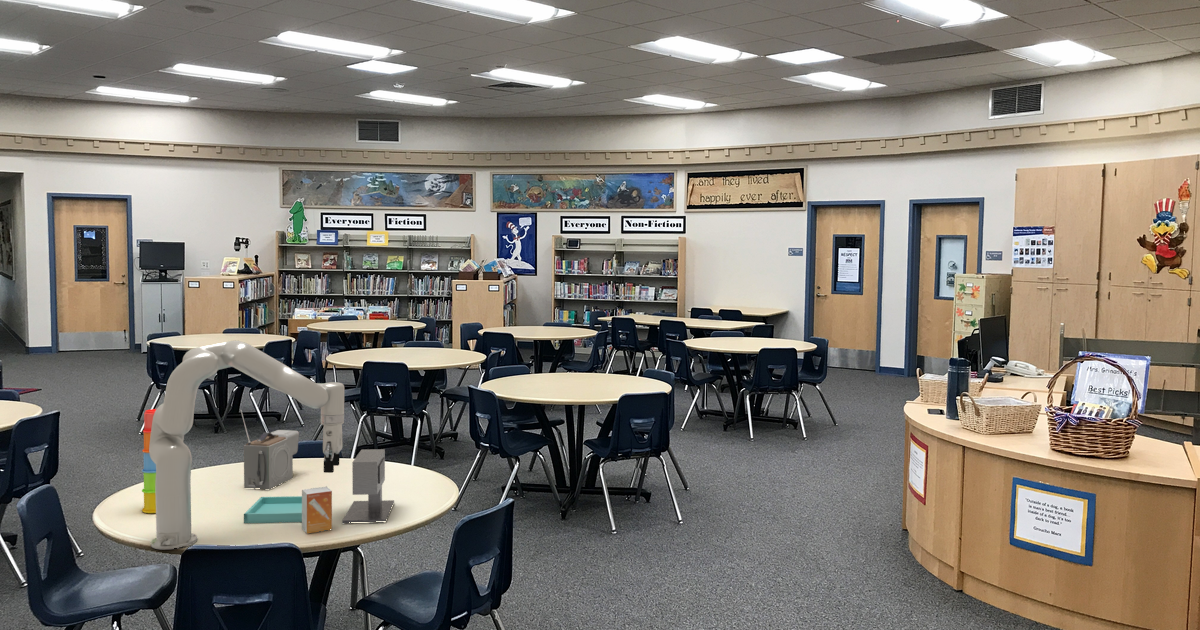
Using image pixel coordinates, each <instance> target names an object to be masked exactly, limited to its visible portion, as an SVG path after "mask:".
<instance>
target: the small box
mask: <svg viewBox="0 0 1200 630" xmlns="http://www.w3.org/2000/svg"><path fill="white" fill-rule="evenodd" d="M301 496H302V522H301V529H302V530H303V532H304V533H305V534H312V533H320V532H319V531H321V532H325V531H324V530H328V531H331V530H330V529H333V490H331V489H330V488H329V487H328V486H327V485H326V486H322V487H321V486H320V487H319V486H318V487H312V488H305V489H301Z"/></svg>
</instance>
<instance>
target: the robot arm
mask: <svg viewBox="0 0 1200 630" xmlns="http://www.w3.org/2000/svg"><path fill="white" fill-rule="evenodd" d="M231 367H232V368H234V369H236V370H238V371H239V372H242V373H243V374H245V375H247V376H248V377H251V378H252V379H254V380H256V381H258V382H259V383H261V384H263V385H265V386H267V387H268V388H271V389H273V390H276V391H279V392H281V393H283V394H285V395H287V396H290V397H291V398H293V399H295V400H296V401H297V402H298V403H300V404H301V405H304V406H306V407H308V408H311V409H317V410H318V409H320V425H322V426H323V430H322V431H323V432H322V453H323V454H324V455H323V456H324V457H323V473H329V474H330V473H334V472H335V468H334V467H335V466H340V454H341V453H340V452H341V451H342V450H343V424H344V423H345V385H344V383H342V382H337V381H336V382H335V381H334V382H333V381H331V382H325V383H322V382H321V383H320V382H317V383H316V382H315V381H313V380H311V379H309V378H307V377H306V376H304V375H302V374H301V373H299V372H297V371H296V370H293V369H292V368H291V367H289V366H287V365H286V364H284V363H283V362H281V361H279V360H277V359H276V358H274V357H272V356H270V355H268V354H267V353H265V352H263V351H262V350H260V349H258V348H257V347H254V346H253V345H252V344H250V343H247V342H244V341H240V340H230V341H229V340H228V341H225V342H224V341H223V342H218V343H214V344H209V345H203V346H198V347H193V348H191V349H189V350H188V351H186V352H185V354H184V355H183V357H182V362H181V363H180V364H178V365H177V366H176V367H175V368H174V370H172V372H171V374H170V376H169V378H168V380H167V383H166V388H165V393H164V397H163V402H162V403H161V404H160V405H158V407H157V408H155V409H156V411H155V413H154V416H153V421H152V428H151V436H150V445H149V454H150V457H151V459H152V461H153V462H154V463H155V464H156V481H155V495H156V513H155V525H156V528H155V530H156V531H155V532H156V535H155V536H156V537H155V538H153V539H152V540H151V541H150V546H151V548H153V549H156V550H161V551H162V550H164V551H167V550H175V549H174V548H177V549H180V548H179V547H182V546H186V547H189V546H192V545H194V544H195V543H196V542H197V541H198V535H197V534H195V533H192V491H191V488H192V487H191V484H192V483H191V482H192V481H191V475H192V465H193V464H192V463H193V456H192V452H191V449H190V448H189V446H188V445H187V444H186V443H184V441H185V439H184V438H185V435H186V434H187V433H189V431H190V430H191V429H192V427H193V424H194V416H195V415H194V414H195V406H196V405H195V404H196V400H197V399H196V397H197V393H198V390H199V387H200V385H201V384H202V383H203V382H204V381H205V380H206V379H208V378H210V377H213V376H214V375H215V374H216V373H217V372H218V371H219V370H223V369H227V368H231ZM191 544H192V545H191ZM188 545H189V546H188Z"/></svg>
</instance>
